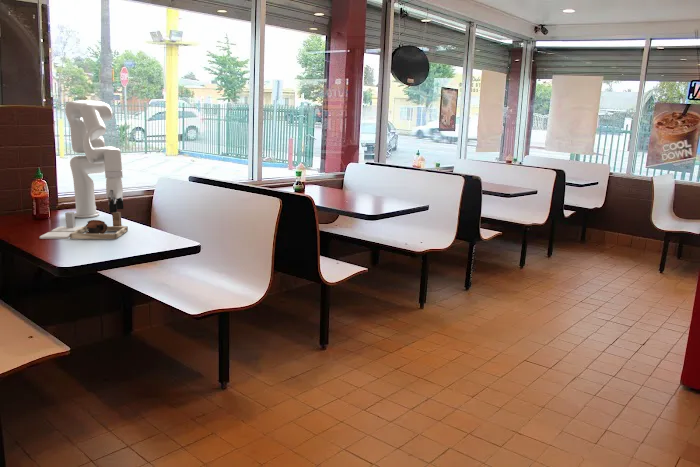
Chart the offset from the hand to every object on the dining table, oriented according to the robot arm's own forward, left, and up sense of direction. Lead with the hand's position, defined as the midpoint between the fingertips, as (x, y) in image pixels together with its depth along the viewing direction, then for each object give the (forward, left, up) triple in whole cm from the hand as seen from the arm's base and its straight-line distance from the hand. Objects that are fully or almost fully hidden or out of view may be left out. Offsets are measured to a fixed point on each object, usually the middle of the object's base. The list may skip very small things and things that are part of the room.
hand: (116, 210), depth 282 cm
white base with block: (+9, -22, -9) cm, 25 cm away
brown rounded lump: (+13, -5, -9) cm, 17 cm away
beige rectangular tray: (+9, -4, -9) cm, 13 cm away
